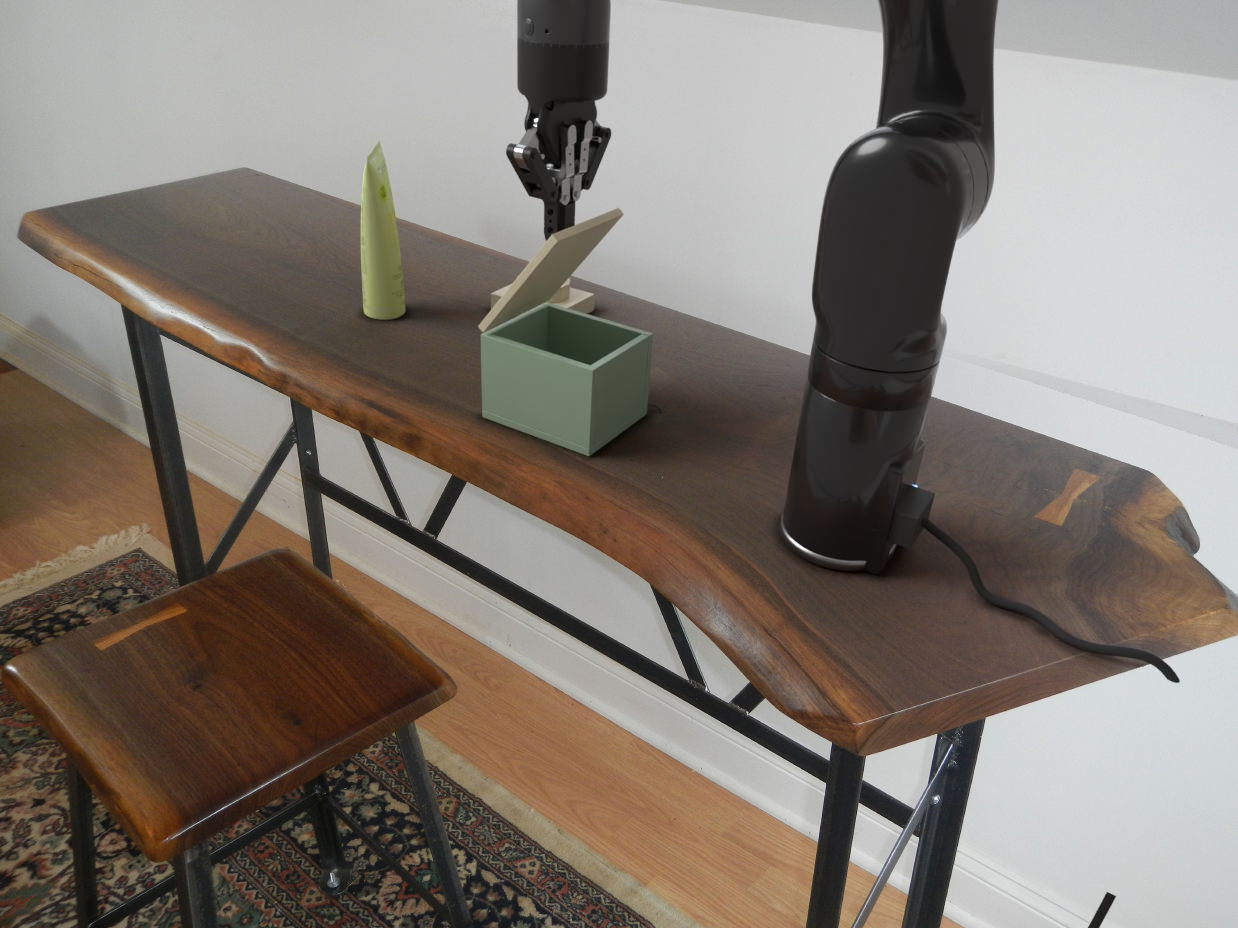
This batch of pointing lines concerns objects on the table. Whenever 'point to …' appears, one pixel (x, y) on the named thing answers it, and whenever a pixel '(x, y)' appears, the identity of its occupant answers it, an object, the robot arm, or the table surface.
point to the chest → (565, 376)
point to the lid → (550, 268)
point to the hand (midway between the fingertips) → (559, 242)
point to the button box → (560, 298)
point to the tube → (380, 243)
